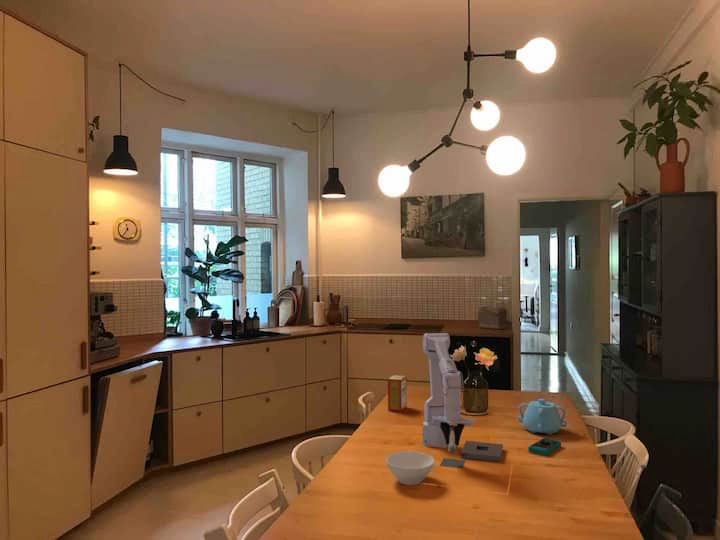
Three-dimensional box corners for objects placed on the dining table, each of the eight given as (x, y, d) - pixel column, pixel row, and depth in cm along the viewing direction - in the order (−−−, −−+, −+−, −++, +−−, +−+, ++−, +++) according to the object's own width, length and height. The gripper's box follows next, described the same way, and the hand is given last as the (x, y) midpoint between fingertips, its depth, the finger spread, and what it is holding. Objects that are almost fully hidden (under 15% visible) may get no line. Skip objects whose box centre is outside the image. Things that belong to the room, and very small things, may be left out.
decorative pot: (536, 438, 221) (536, 405, 221) (514, 427, 237) (514, 396, 236) (570, 435, 226) (570, 402, 225) (546, 424, 241) (547, 393, 241)
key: (447, 452, 192) (447, 426, 192) (449, 449, 194) (449, 424, 194) (456, 452, 191) (456, 427, 191) (457, 450, 193) (457, 425, 193)
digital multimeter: (562, 447, 211) (562, 440, 211) (546, 457, 200) (546, 449, 200) (543, 443, 216) (543, 436, 216) (527, 453, 205) (527, 445, 205)
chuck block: (460, 459, 198) (460, 452, 198) (466, 447, 211) (466, 440, 211) (500, 463, 193) (500, 456, 193) (503, 450, 206) (503, 444, 206)
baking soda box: (400, 412, 262) (400, 379, 262) (388, 410, 264) (387, 378, 264) (406, 407, 271) (406, 375, 270) (394, 406, 273) (393, 374, 273)
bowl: (438, 474, 183) (438, 454, 183) (428, 493, 168) (428, 471, 168) (393, 469, 188) (393, 449, 188) (379, 487, 173) (379, 465, 173)
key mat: (439, 467, 190) (439, 465, 190) (443, 459, 198) (443, 457, 198) (462, 469, 187) (462, 468, 187) (465, 461, 195) (465, 460, 195)
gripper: (430, 407, 191) (430, 445, 191) (471, 411, 186) (471, 450, 186) (434, 402, 198) (434, 439, 198) (474, 405, 193) (474, 443, 193)
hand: (452, 444), depth 193 cm, fingers closed on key, 3 cm apart
